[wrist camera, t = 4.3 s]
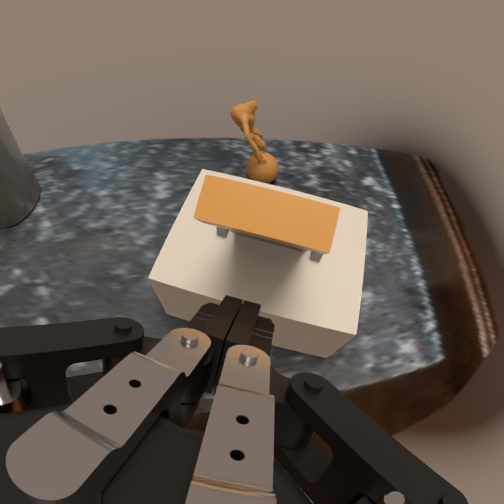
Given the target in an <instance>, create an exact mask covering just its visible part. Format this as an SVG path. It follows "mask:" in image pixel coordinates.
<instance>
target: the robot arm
mask: <svg viewBox="0 0 504 504" xmlns="http://www.w3.org/2000/svg"><path fill="white" fill-rule="evenodd" d="M39 195H40V185H39V183H38V181H37V180H36V178H35V176H34V174H33V173H32V171H31V169H30V167H29V165H28V163H27V161H26V159H25V158H24V156H23V154H22V152H21V150H20V148H19V146H18V144H17V142H16V140H15V138H14V136H13V134H12V132H11V130H10V128H9V126H8V124H7V121H6V119H5V117H4V115H3V112H2V110H1V108H0V227H1V228H7V227H11V226H14V225H16V224H17V223H19V222H20V221H22V220H23V219H24V218H25V217H26V216H27V215H28V214H29V213H30V212H31V211H32V209H33V208H34V206H35V205H36V203H37V201H38V199H39ZM242 303H243V304H242ZM260 308H261V304H257V303H254V302H250V301H246V300H244V302H243V299H239V298H235V297H232V296H228V295H225V297H224V298H223V300H222V302H221V303H220V305H218V304H215V303H211V302H210V303H207V304H205V305H202V306H201V307H200V309H199V310H198V312H197V313H196V314H195V315H194V317H193V318H192V319H191V321H190V322H189V323H188V324H187V326H186V327H185V328H178V329H174V330H172V331H171V332H170V333H169V334H168V335H167V336H166V337H164V338H163V339H158V338H151V337H145V336H144V328H143V326H142V325H141V324H140V323H138V322H136V321H134V320H132V319H128V318H122V317H117V318H108V319H98V320H89V321H79V322H69V323H58V324H47V325H35V326H21V327H7V328H0V504H313V503H314V504H468V502H467V500H466V498H465V496H464V495H463V494H462V493H461V492H460V491H459V490H457V489H456V488H455V487H454V486H452V485H451V484H450V483H448V482H447V481H446V480H445V479H443V478H442V477H441V476H440V475H438V474H437V473H436V472H434V471H433V470H432V469H431V468H430V467H428V466H427V465H426V464H425V463H423V462H422V461H421V460H420V459H418V458H417V457H416V456H415V455H413V454H412V453H411V452H410V451H409V450H407V449H406V448H405V447H404V446H403V445H401V444H400V443H399V442H398V441H396V440H395V439H394V438H393V437H392V436H391V435H390V434H388V433H387V432H386V431H385V430H384V429H382V428H381V427H380V426H379V425H378V424H377V423H375V422H374V421H373V420H372V419H371V418H370V417H368V416H367V415H366V414H365V413H364V412H363V411H362V410H360V409H359V408H358V407H357V406H356V405H355V404H354V403H352V402H351V401H350V400H349V399H348V398H347V397H346V396H345V395H343V394H342V393H341V392H340V391H339V390H338V389H337V388H336V387H334V386H333V385H332V384H331V383H330V382H329V381H328V380H326V379H325V378H323V377H321V376H319V375H316V374H312V373H298V374H296V375H294V376H293V377H292V378H291V379H289V378H287V377H284V376H282V375H281V374H279V373H277V372H276V371H275V370H274V369H273V368H272V367H271V365H270V358H269V356H270V350H271V345H272V339H273V333H274V328H275V325H274V324H273V322H272V320H271V319H269V318H265V317H261V316H258V315H259V312H260ZM99 359H102V363H103V372H98V373H92V374H86V375H80V376H74V377H66V374H65V372H66V369H67V368H68V367H69V366H70V365H71V364H74V363H80V362H86V361H93V360H99ZM214 386H215V389H214ZM213 389H214V393H213V394H214V395H215V397H214V401H213V404H212V408H211V412H210V415H209V419H208V423H207V426H206V430H205V431H197V430H190V429H185V427H186V426H187V424H188V422H189V421H190V419H191V417H192V416H193V414H194V412H195V411H196V409H197V407H198V405H199V400H200V398H201V397H202V395H203V393H204V392H207V393H212V391H213ZM315 432H316V433H317V434H318V435H319V436H320V437H321V438H322V439H323V440H324V441H325V442H326V443H327V444H328V445H329V447H330V448H331V450H332V454H333V458H332V457H331V456H330V455H329V454H328V452H327V451H326V450H325V449H324V448H323V447H322V446H321V445H320V444H319V443H318V442H317V441H316V440H315V439H314V438H313V437H312V436H313V435H314V433H315ZM274 456H275V458H276V459H277V460H278V461H279V463H280V464H281V465H282V466H283V468H284V469H285V470H286V471H287V472H288V473H287V472H286V471H285V470H284V469H283V468H281V467H280V466H279V465H278V464H276V463H275V462H273V457H274ZM301 489H302V490H303V491H302V490H301ZM304 493H305V494H306V495H307V496H308V497H309V498H310V500H311V501H312V502H313V503H312V502H311V501H310V500H309V498H308V497H307V496H306V495H305V494H304Z"/></svg>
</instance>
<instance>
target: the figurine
mask: <svg viewBox="0 0 504 504" xmlns="http://www.w3.org/2000/svg"><path fill="white" fill-rule="evenodd" d="M257 109H258V105H257V102H256V101H254V100H251V101H249V102H247V103H245V104H241V103H238V105H235V106H234V107H233V108H232V110H231V117H232V119H233V120H234V122H235V123H236V124H237V125H238V126H239V127H240V128H241V130H242V132H244V134H245V137H246V139H247V140H248V142H249V143H250V145H251V148H252V150H253V156H251V157H250V159H249V160H248V162H247V165H246V171H247V175H248V177H249V178H250V179H251V180H254V181H258V182H262V183H270V182H271V181H273V180H274V179H275V178H276V176H277V174H278V163H277V161H276V159H275V158H274V157H273V156H272V155H270V154H268V153H265V152H263V151H262V150H263V149H264V148H265V146H266V145H265V142H263V141H262V140H261V139H262V133H260V132H259V131H258V130H257V129H256V128H254V123H255V114H254V111H255V110H257ZM258 147H259V148H258Z"/></svg>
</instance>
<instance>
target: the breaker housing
mask: <svg viewBox="0 0 504 504" xmlns="http://www.w3.org/2000/svg"><path fill="white" fill-rule="evenodd" d="M206 174H207V175H212V176H216V177H221V178H225V179H230V180H234V181H239V182H243V183H247V184H251V185H256V186H260V187H264V188H268V189H272V190H276V191H280V192H284V193H288V194H292V195H296V196H300V197H303V198H307V199H311V200H315V201H318V202H322V203H325V204H329V205H333V206H336V207H340V212H339V216H338V221H337V225H336V229H335V234H334V238H333V242H332V246H331V250H330V253H328V254H320V253H316V252H312V251H309V250H308V251H306V252H301V251H297V250H293V249H290V248H286V247H282V246H278V245H274V244H271V243H267V242H263V241H259V240H255V239H251V238H248V237H244V236H240V235H236V234H234V233H232V232H231V231H229V230H228V229H224V228H221V227H217V226H213V225H209V224H205V223H202V222H200V221H198V220H196V219H195V218H193V217H194V213H195V210H196V206H197V203H198V199H199V196H200V192H201V189H202V185H203V182H204V179H205V175H206ZM367 215H368V211H366V210H363V209H359V208H356V207H352V206H349V205H346V204H342V203H339V202H335V201H331V200H328V199H324V198H321V197H317V196H313V195H310V194H306V193H302V192H298V191H294V190H291V189H287V188H283V187H279V186H275V185H271V184H267V183H262V182H258V181H254V180H250V179H245V178H241V177H237V176H232V175H228V174H223V173H219V172H214V171H209V170H204V169H202V171H201V173H200V174H199V176H198V178H197V180H196V182H195V184H194V186H193V188H192V189H191V191H190V193H189V195H188V197H187V199H186V201H185V203H184V205H183V207H182V209H181V211H180V213H179V215H178V217H177V219H176V221H175V223H174V225H173V227H172V229H171V231H170V233H169V235H168V237H167V239H166V241H165V243H164V245H163V247H162V249H161V251H160V254H159V256H158V258H157V260H156V262H155V264H154V266H153V269H152V271H151V273H150V275H149V277H148V279H149V281H150V283H151V285H152V287H153V289H154V291H155V292H156V294H157V296H158V298H159V300H160V302H161V304H162V306H163V308H164V310H165V312H166V313H167V314H168V315H171V316H174V317H177V318H180V319H183V320H186V321H191V319H192V318H193V317H194V315H195V314H196V313H197V312H198V310H199V309H200V307H201V306H202V305H205V304H207V303H210V302H211V303H215V304H218V305H220V303H221V302H222V300H223V298H224V297H225V295H228V296H232V297H235V298H239V299H243V302H244V300H246V301H250V302H254V303H257V304H261V308H260V312H259V315H258V316H261V317H265V318H269V319H271V320H272V322H273V324H274V325H275V328H274V333H273V339H272V345H273V346H277V347H281V348H285V349H289V350H293V351H297V352H302V353H306V354H310V355H314V356H319V357H323V358H327V357H328V356H330V355H331V354H332V353H334V352H335V351H336V350H338V349H339V348H340V347H341V346H343V345H344V344H345V343H347V342H348V341H349V340H350V339H352V338H353V337H354V336H355V335H356V333H357V326H358V318H359V310H360V302H361V293H362V284H363V273H364V262H365V249H366V234H367ZM242 304H243V303H242Z"/></svg>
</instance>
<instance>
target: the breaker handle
mask: <svg viewBox="0 0 504 504" xmlns="http://www.w3.org/2000/svg"><path fill="white" fill-rule="evenodd" d="M339 212H340V207H336V206H333V205H329V204H325V203H322V202H318V201H315V200H311V199H307V198H303V197H300V196H296V195H292V194H288V193H284V192H280V191H276V190H272V189H268V188H264V187H260V186H256V185H251V184H247V183H243V182H239V181H234V180H230V179H225V178H221V177H216V176H212V175H207V174H206V175H205V179H204V182H203V185H202V189H201V192H200V196H199V199H198V203H197V206H196V210H195V213H194V217H193V218H195V219H196V220H198V221H200V222H202V223H205V224H209V225H213V226H217V227H221V228H224V229H228V230H229V231H231V232H232V233H234V234H236V235H240V236H244V237H248V238H251V239H255V240H259V241H263V242H267V243H271V244H274V245H278V246H282V247H286V248H290V249H293V250H297V251H301V252H306V251H308V250H309V251H312V252H316V253H320V254H328V253H330V250H331V246H332V242H333V238H334V234H335V229H336V225H337V221H338V216H339Z"/></svg>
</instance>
